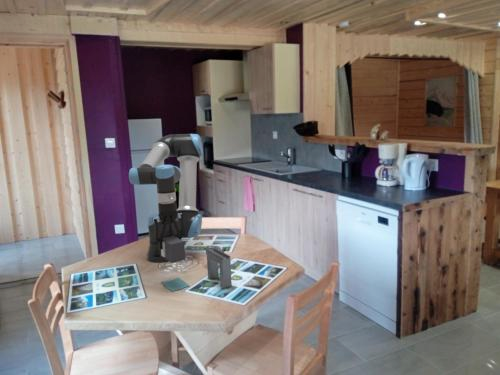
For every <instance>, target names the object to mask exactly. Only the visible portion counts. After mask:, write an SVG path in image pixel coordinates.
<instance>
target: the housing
mask: <svg viewBox="0 0 500 375" xmlns="http://www.w3.org/2000/svg"><path fill="white" fill-rule="evenodd" d="M209 250H210V251H209ZM209 250H206V251H207V254H206V267H207V268H206V269H207V279H208V280H211V281H212V280H215V279H218V278H219V282H220V285H219V286H220V287H221V288H223V289H226V288H230V287H232V285H233V284H232V282H233V281H232V264H231V263H232V262H231V261H232V260H231V256H230V255H229V254H227V253H225V252H224V253H223V252H221V251H219V250H218V249H216V248H213V250H211V249H209ZM206 251H205V252H206Z"/></svg>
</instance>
